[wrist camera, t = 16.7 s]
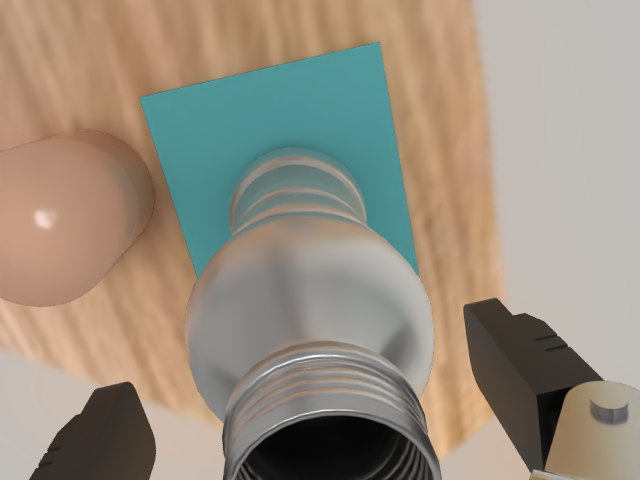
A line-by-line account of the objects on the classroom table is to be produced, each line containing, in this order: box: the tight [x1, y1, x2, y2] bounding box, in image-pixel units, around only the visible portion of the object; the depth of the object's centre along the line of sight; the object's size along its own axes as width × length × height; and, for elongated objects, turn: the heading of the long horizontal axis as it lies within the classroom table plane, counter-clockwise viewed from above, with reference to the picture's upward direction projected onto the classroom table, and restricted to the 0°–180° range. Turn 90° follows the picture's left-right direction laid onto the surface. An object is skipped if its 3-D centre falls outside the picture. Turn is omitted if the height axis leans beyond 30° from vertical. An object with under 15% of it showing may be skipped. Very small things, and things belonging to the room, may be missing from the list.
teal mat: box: [139, 42, 419, 279], centre depth 28 cm, size 14×12×1 cm
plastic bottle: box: [184, 147, 442, 480], centre depth 18 cm, size 6×7×20 cm
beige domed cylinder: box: [0, 130, 155, 307], centre depth 24 cm, size 6×6×7 cm
